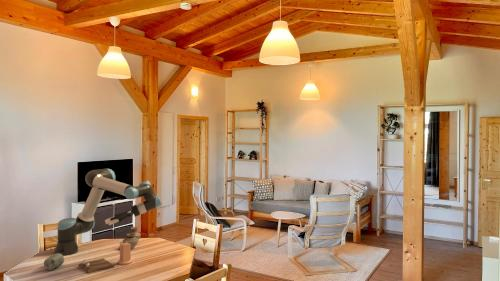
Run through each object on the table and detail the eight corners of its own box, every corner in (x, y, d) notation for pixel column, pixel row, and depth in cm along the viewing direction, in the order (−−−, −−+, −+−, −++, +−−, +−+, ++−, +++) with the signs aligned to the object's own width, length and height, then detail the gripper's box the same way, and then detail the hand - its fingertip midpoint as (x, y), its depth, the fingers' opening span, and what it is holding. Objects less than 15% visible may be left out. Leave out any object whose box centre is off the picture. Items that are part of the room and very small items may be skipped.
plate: (78, 266, 231) (78, 264, 231) (103, 260, 243) (103, 258, 243) (88, 273, 220) (88, 271, 220) (113, 267, 231) (113, 264, 231)
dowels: (81, 265, 229) (81, 260, 229) (85, 264, 230) (85, 260, 230) (86, 269, 223) (86, 264, 223) (90, 268, 225) (90, 263, 225)
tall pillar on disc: (115, 262, 240) (115, 243, 240) (128, 259, 246) (128, 241, 246) (121, 266, 234) (122, 246, 233) (134, 262, 240) (134, 244, 240)
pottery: (142, 240, 290) (142, 226, 290) (137, 250, 265) (137, 234, 265) (127, 241, 288) (127, 226, 288) (121, 251, 263) (121, 234, 263)
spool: (55, 267, 220) (51, 251, 223) (41, 273, 221) (38, 257, 224) (70, 265, 233) (66, 250, 236) (57, 271, 234) (53, 256, 237)
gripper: (139, 212, 231) (106, 227, 224) (141, 216, 254) (111, 229, 247) (135, 201, 232) (101, 216, 225) (137, 206, 255) (107, 219, 249)
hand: (106, 222), depth 236 cm, fingers open, 13 cm apart
